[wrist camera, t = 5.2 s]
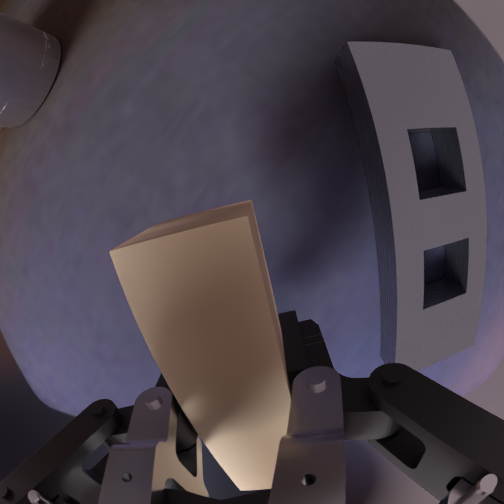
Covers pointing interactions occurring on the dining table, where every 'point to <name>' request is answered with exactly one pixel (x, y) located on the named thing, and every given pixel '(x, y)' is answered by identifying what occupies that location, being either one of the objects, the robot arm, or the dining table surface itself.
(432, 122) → the grey block with holes
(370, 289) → the dining table surface
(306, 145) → the dining table surface
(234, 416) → the wooden peg block
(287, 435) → the robot arm
